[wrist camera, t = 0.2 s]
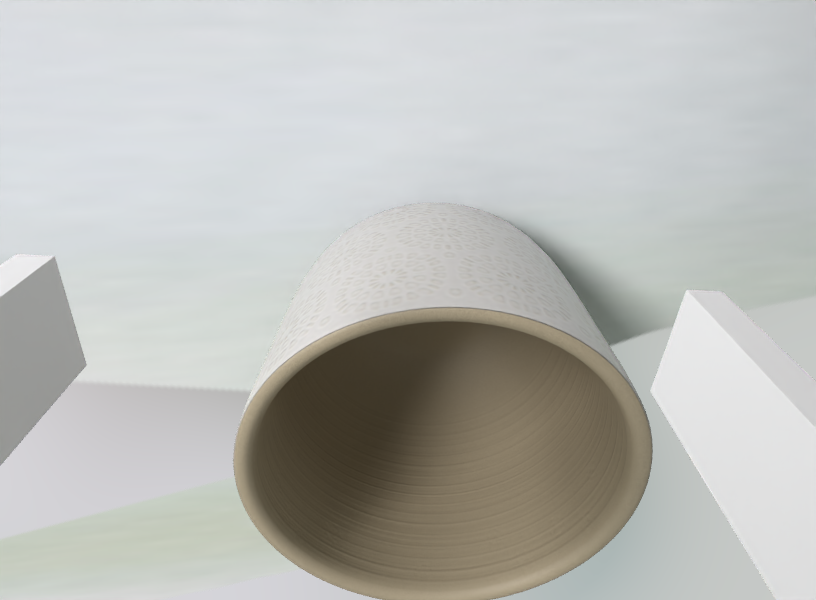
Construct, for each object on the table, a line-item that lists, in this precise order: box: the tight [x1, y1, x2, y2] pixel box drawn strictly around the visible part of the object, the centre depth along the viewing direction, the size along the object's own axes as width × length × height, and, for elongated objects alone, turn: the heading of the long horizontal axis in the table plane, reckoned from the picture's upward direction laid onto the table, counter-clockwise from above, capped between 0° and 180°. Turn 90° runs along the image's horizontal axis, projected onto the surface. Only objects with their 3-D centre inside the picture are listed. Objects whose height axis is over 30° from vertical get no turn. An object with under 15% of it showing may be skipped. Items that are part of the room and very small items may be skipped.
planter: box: [233, 203, 652, 600], centre depth 35 cm, size 21×21×19 cm
